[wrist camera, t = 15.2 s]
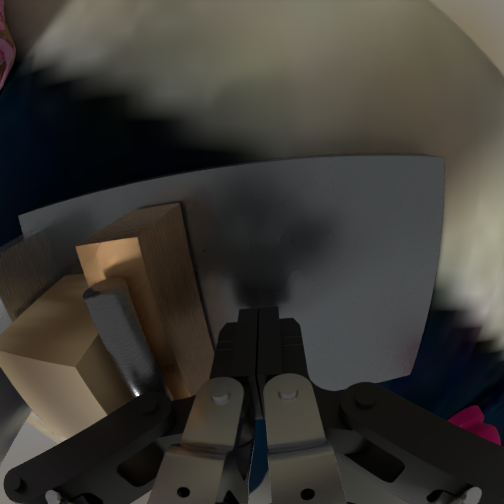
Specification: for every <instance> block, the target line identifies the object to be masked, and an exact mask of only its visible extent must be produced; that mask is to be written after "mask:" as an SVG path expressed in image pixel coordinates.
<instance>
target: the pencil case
mask: <svg viewBox="0 0 504 504" xmlns="http://www.w3.org/2000/svg"><path fill="white" fill-rule="evenodd" d="M15 54H16V48H15V44H14V42H13V40H12V37H11V35H10V32H9V30H8V27H7V25H6V23H5V16H4V0H0V90H1V88H2V87H3V85H4V83H5V81H6V78H7V76H8V74H9V72H10V70H11V68H12V65H13V63H14V59H15Z"/></svg>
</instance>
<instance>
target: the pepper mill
mask: <svg viewBox="0 0 504 504" xmlns="http://www.w3.org/2000/svg"><path fill="white" fill-rule="evenodd" d="M483 420H484V415H483V413H482V411H481V410H480V408H479V406H477V405H473V406H470V407H467V408H465V409H463V410H461V411H459V412H458V413H456V414H455V415H453V416H452V417H451V418H449V419H448V420H447V421H449V422H451V423H453V424H455V425H457V426H459V427H461V428H463V429H465V430H467V431H470V432H472V433H474V434H476V435H478V436H480V437H483V438H485V439H487V440H489V441H492V442H494V443H496V444H498V445H501V443H500V437H499V434H498V432H497V429H496V428H495V427H494V426H493V425H489V424H483V423H482V422H483Z"/></svg>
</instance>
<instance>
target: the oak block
mask: <svg viewBox="0 0 504 504" xmlns="http://www.w3.org/2000/svg"><path fill="white" fill-rule="evenodd" d="M88 288H89V286H88V283H87V280H86V277H85V275H84V274H77V275H66V276H64V277H63V278H61V279H60V280H59V281H58V282H57V283H55V284H54V285H53V286H52V287H51V288H50V289H48V290H47V291H46V292H45V293H44V294H43V295H42V296H41V297H39V298H38V299H37V300H36V301H35V302H34V303H33V304H32V305H31V306H29V307H28V308H27V309H26V310H25V311H24V312H23V313H22V314H21V315H20V316H19V317H18V318H17V319H16V320H15V321H14V322H13V323H12V324H11V325H10V326H9V327H8V328H7V329H6V330H5V331H4V332H3V333H2V334H1V335H0V367H1V368H2V370H3V371H4V373H5V374H6V376H7V377H8V379H9V380H10V382H11V383H12V384H13V386H14V387H15V388H16V390H17V391H18V393H19V394H20V395H21V397H22V398H23V399H24V400H25V402H26V403H27V404H28V405H29V407H30V408H31V409H32V410H33V412H34V413H35V414H36V415H37V416H38V417H39V419H40V420H41V421H42V422H43V423H44V424H45V425H46V426H47V428H48V429H49V430H50V431H51V432H52V433H53V434H56V435H58V436H61V437H64V438H66V439H69V438H70V437H72V436H74V435H76V434H77V433H79V432H81V431H82V430H84V429H86V428H87V427H89V426H91V425H92V424H94V423H96V422H97V421H99V420H101V419H102V418H104V417H106V416H107V415H109V414H110V413H112V412H114V411H115V410H117V409H118V408H120V407H121V406H123V405H125V404H126V403H128V402H129V401H131V400H132V399H133V397H132V395H131V394H130V392H129V390H128V389H127V387H126V385H125V384H124V382H123V380H122V378H121V377H120V375H119V373H118V371H117V369H116V367H115V366H114V364H113V362H112V360H111V358H110V356H109V354H108V352H107V350H106V348H105V346H104V344H103V342H102V340H101V338H100V336H99V334H98V332H97V329H96V327H95V325H94V323H93V321H92V318H91V316H90V314H89V311H88V309H87V307H86V304H85V302H84V299H83V294H84V292H85V291H86V290H87V289H88Z"/></svg>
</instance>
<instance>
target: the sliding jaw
mask: <svg viewBox="0 0 504 504" xmlns="http://www.w3.org/2000/svg"><path fill="white" fill-rule="evenodd" d="M75 247H76V250H77V253H78V256H79V260H80V263H81V266H82V269H83V272H84V275H85V277H86V280H87V283H88V286H89V288H88V289H87V290H86V291H85V292H84V294H83V299H84V302H85V304H86V307H87V309H88V311H89V314H90V316H91V318H92V321H93V323H94V325H95V327H96V329H97V332H98V334H99V336H100V338H101V340H102V342H103V344H104V346H105V348H106V350H107V352H108V354H109V356H110V358H111V360H112V362H113V364H114V366H115V367H116V369H117V371H118V373H119V375H120V377H121V378H122V380H123V382H124V384H125V385H126V387H127V389H128V390H129V392H130V394H131V395H132V397H133V399H134V398H135V397H137V396H139V395H140V394H143V393H146V392H160V393H163V394H165V395H166V396H167V397H168V398H169V400H170V401H174V400H178V399H183V398H188V397H191V396H194V395H196V394H197V392H198V389H199V388H200V386H201V385H202V384H204V383H205V382H206V381H208V380H209V377H210V373H211V368H212V364H213V359H214V351H213V347H212V343H211V340H210V336H209V332H208V328H207V324H206V321H205V317H204V313H203V309H202V305H201V300H200V296H199V292H198V288H197V284H196V279H195V275H194V270H193V266H192V261H191V257H190V252H189V247H188V242H187V238H186V233H185V228H184V223H183V217H182V212H181V207H180V203H175V204H168V205H162V206H156V207H150V208H145V209H139V210H133V211H130V212H129V213H127V214H125V215H124V216H122V217H120V218H119V219H117V220H116V221H114V222H112V223H111V224H109V225H107V226H106V227H104V228H103V229H101V230H100V231H98V232H96V233H95V234H93V235H92V236H90V237H89V238H87V239H86V240H84V241H83V242H81V243H80V244H78V245H77V246H75Z"/></svg>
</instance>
